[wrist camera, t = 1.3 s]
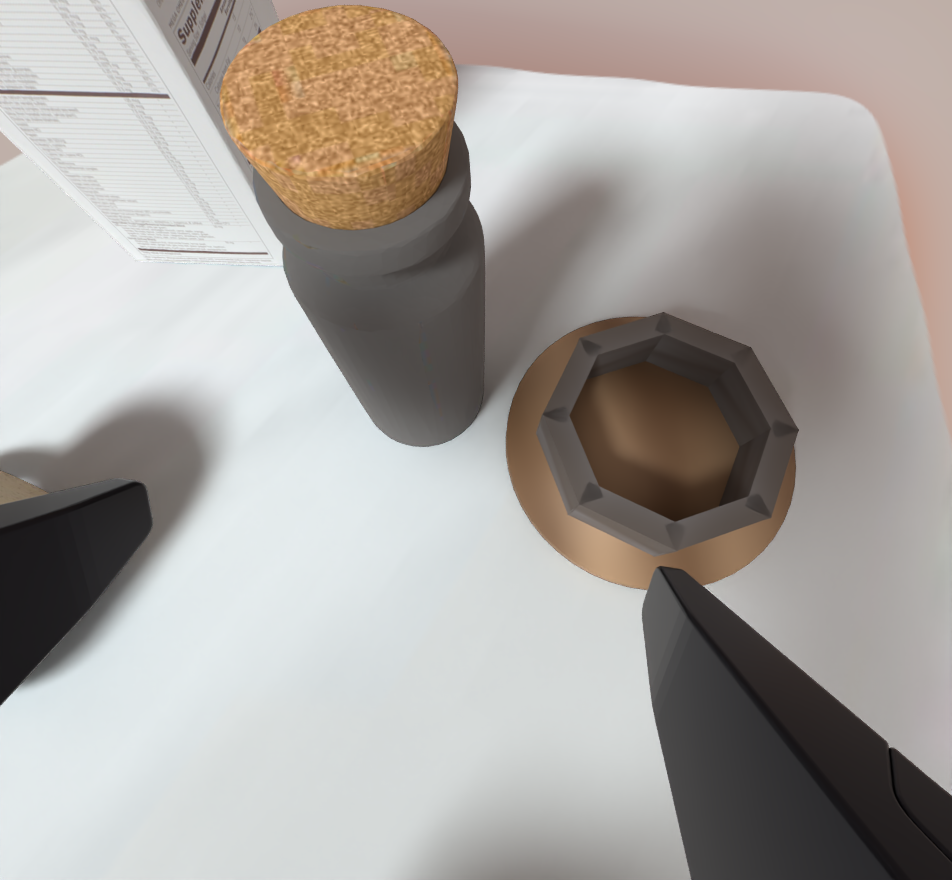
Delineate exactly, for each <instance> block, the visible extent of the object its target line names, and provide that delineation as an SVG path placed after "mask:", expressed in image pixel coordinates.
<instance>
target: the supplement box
mask: <svg viewBox="0 0 952 880" xmlns="http://www.w3.org/2000/svg"><path fill="white" fill-rule="evenodd" d="M277 22H279V19H278V16H277V13H276V11H275V8H274V5H273V3H272V0H0V131H1V132H2V133H3V134H4V135H5V136H6V137H7V138H8V139H9V140H10V141H11V142H12V143H13V144H14V145H15V146H16V147H17V148H18V149H20V151H22V152H23V153H24V154H25V155H26V156H27V157H28V158H29V159H30V160H31V161H32V162H33V163H34V164H35V165H36V166H37V167H38V168H39V169H40V170H41V171H42V172H44V173H45V174H46V175H47V176H48V177H49V178H50V179H51V180H52V181H53V182H54V183H55V184H56V185H57V186H58V187H59V188H60V189H61V190H62V191H63V192H64V193H65V194H66V195H67V196H69V197H70V198H71V199H72V200H73V201H74V202H75V203H76V204H77V205H78V206H79V207H80V208H81V209H82V210H83V211H84V212H85V213H86V214H88V215H89V216H90V217H91V218H92V219H93V220H94V221H95V222H96V223H97V224H98V225H99V226H100V227H101V228H102V229H103V230H104V231H105V232H106V233H107V234H108V235H109V236H110V237H111V238H112V239H113V240H114V241H115V242H116V243H117V244H118V245H120V246H121V247H122V248H123V249H124V250H125V251H126V252H127V253H128V254H129V255H130V256H131V257H132V258H133V259H135V260H136V261H139V262H170V263H199V264H230V265H262V266H283V259H282V251H283V245H282V243H281V242H280V241H279V240H278V239H277V238H276V236H275V234H274V233H273V231H272V230H271V228H270V226H269V225H268V223H267V222H266V220H265V218H264V216H263V214H262V211H261V209H260V207H259V205H258V203H257V201H256V197H255V192H254V188H253V165H252V164H251V163H250V162H249V161H248V159H247V158H246V157H245V156H244V155H243V153H242V152H241V151H240V150H239V149H238V147H237V146H236V144H235V143H234V142H233V140H232V139H231V137H230V135H229V134H228V132H227V130H226V128H225V126H224V123H223V120H222V116H221V112H220V90H221V86H222V81H223V78H224V76H225V74H226V71H227V69H228V67H229V65H230V64H231V62H232V61H233V60H234V58H235V57H236V55H237V54H238V52H239V51H240V50H241V49H242V48H243V47H244V46H245V45H246V44H247V43H248V42H250V41H251V40H252V39H253V38H254V37H255V36H257V35H258V34H259V33H261V32H262V31H263V30H265V29H266V28H268V27H269V26H271V25H273V24H275V23H277Z"/></svg>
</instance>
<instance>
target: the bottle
mask: <svg viewBox="0 0 952 880" xmlns="http://www.w3.org/2000/svg"><path fill="white" fill-rule="evenodd" d="M457 94H458V76H457V70H456V68H455V65H454V62H453V59H452V57H451V55H450V53H449V51H448V50H447V49H446V47H445V46H444V44H443V43H442V42H441V40H440V39H439V38H438V37H437V36H436V35H435V34H434V33H433V32H431V30H429V29H428V28H426V27H425V26H423V25H422V24H420V23H418V22H417V21H416V20H414V19H412V18H409V17H407V16H405V15H402V14H399V13H396V12H393V11H390V10H386V9H382V8H375V7H368V6H362V5H338V6H330V7H324V8H319V9H314V10H308V11H305V12H302V13H299V14H296V15H293V16H290V17H288V18H286V19H284V20H281V21H279V22H277V23H275V24H273V25H271V26H269V27H268V28H266V29H265V30H263V31H262V32H261V33H259V34H258V35H257V36H255V37H254V38H253V39H252V40H251V41H250V42H248V43H247V44H246V45H245V46H244V47H243V48H242V49H241V50H240V51H239V52H238V54H237V55H236V57H235V58H234V60H233V61H232V62H231V64H230V65H229V67H228V69H227V71H226V74H225V76H224V78H223V81H222V86H221V90H220V112H221V116H222V120H223V123H224V126H225V128H226V130H227V132H228V134H229V135H230V137H231V139H232V140H233V142H234V143H235V144H236V146H237V147H238V149H239V150H240V151H241V152H242V153H243V155H244V156H245V157H246V158H247V159H248V161H249V162H250V163H251V164H252V165H253V188H254V192H255V197H256V201H257V203H258V205H259V207H260V209H261V211H262V214H263V216H264V218H265V220H266V222H267V223H268V225H269V226H270V228H271V230H272V231H273V233H274V234H275V236H276V238H277V239H278V240H279V241H280V242H281V243H282V245H283V251H282V259H283V267H284V271H285V274H286V277H287V280H288V283H289V286H290V288H291V290H292V292H293V294H294V296H295V297H296V299H297V301H298V302H299V304H300V306H301V307H302V309H303V310H304V312H305V314H306V315H307V317H308V319H309V320H310V322H311V324H312V325H313V327H314V328H315V330H316V332H317V333H318V335H319V337H320V338H321V340H322V342H323V343H324V345H325V347H326V348H327V350H328V351H329V353H330V355H331V356H332V358H333V359H334V361H335V363H336V364H337V366H338V367H339V369H340V371H341V372H342V374H343V375H344V377H345V379H346V380H347V382H348V383H349V385H350V387H351V388H352V390H353V391H354V393H355V395H356V396H357V398H358V399H359V401H360V403H361V404H362V406H363V407H364V409H365V410H366V412H367V413H368V415H369V416H370V418H371V419H372V421H373V422H374V423H375V425H376V426H377V427H378V428H379V429H380V430H381V431H382V432H383V433H385V434H386V435H387V436H388V437H390V438H391V439H393V440H395V441H397V442H400V443H403V444H406V445H410V446H419V447H429V446H434V445H439V444H442V443H445V442H447V441H450V440H452V439H453V438H455V437H457V436H458V435H460V434H461V433H462V432H463V431H464V430H465V429H466V428H468V427H469V426H470V424H471V423H472V422H473V420H474V419H475V417H476V416H477V414H478V411H479V409H480V406H481V403H482V397H483V386H484V333H485V247H484V236H483V230H482V226H481V223H480V220H479V217H478V214H477V213H476V211H475V209H474V207H473V205H472V204H471V202H470V201H469V197H470V190H471V176H470V162H469V151H468V148H467V145H466V142H465V139H464V136H463V134H462V132H461V131H460V129H459V127H458V126H457V124H456V123H455V122H454V116H455V109H456V103H457Z"/></svg>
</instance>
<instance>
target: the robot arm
mask: <svg viewBox="0 0 952 880" xmlns="http://www.w3.org/2000/svg"><path fill="white" fill-rule="evenodd" d="M152 525H153V518H152V513H151V507H150V502H149V497H148V491H147V488H146V486H145V485H144V484H143V483H142V482H140V481H136V480H130V479H124V478H115V479H110V480H106V481H102V482H97V483H93V484H88V485H84V486H80V487H75V488H71V489H67V490H62V491H58V492H53V493H49V494H45V495H40V496H36V497H32V498H27V499H23V500H18V501H14V502H10V503H5V504H1V505H0V706H1V705H2V704H3V703H4V702H5V700H6V699H7V698H8V697H9V696H10V695H11V694H12V693H13V692H14V691H15V690H16V689H17V688H18V686H19V685H20V684H21V683H22V682H23V681H24V680H25V679H26V678H27V677H28V676H29V675H30V674H31V673H32V671H33V670H34V669H35V668H36V667H37V666H38V665H39V664H40V663H41V662H42V661H43V660H44V659H45V657H46V656H47V655H48V654H49V653H50V652H51V651H52V650H53V649H54V648H55V647H56V646H57V645H58V644H59V642H60V641H61V640H62V639H63V638H64V637H65V636H66V635H67V634H68V633H69V632H70V631H71V630H72V628H73V627H74V626H75V625H76V624H77V623H78V622H79V621H80V620H81V619H82V618H83V617H84V615H85V614H86V613H87V612H88V611H89V610H90V609H91V608H92V606H93V605H94V604H95V603H96V602H97V600H98V599H99V598H100V597H101V595H102V594H103V593H104V592H105V590H106V589H107V588H108V587H109V585H110V584H111V583H112V581H113V580H114V579H115V578H116V576H117V575H118V574H119V572H120V571H121V570H122V569H123V567H124V566H125V565H126V563H127V562H128V561H129V560H130V558H131V557H132V556H133V554H134V553H135V552H136V551H137V549H138V548H139V547H140V545H141V544H142V543H143V542H144V540H145V539H146V538H147V536H148V535H149V533H150V531H151V529H152ZM642 622H643V630H644V639H645V648H646V657H647V666H648V675H649V684H650V692H651V699H652V707H653V712H654V717H655V722H656V726H657V730H658V735H659V739H660V744H661V748H662V752H663V757H664V761H665V766H666V770H667V774H668V779H669V783H670V788H671V792H672V796H673V801H674V805H675V810H676V814H677V818H678V823H679V827H680V832H681V836H682V840H683V845H684V849H685V854H686V858H687V862H688V867H689V871H690V876H691V880H952V796H951V795H950V794H949V793H948V792H946V791H945V790H944V789H943V788H942V787H940V786H939V785H938V784H937V783H936V782H934V781H933V780H932V779H931V778H929V777H928V776H927V775H926V774H925V773H924V772H922V771H921V770H920V769H919V768H918V767H916V766H915V765H914V764H913V763H912V762H911V761H909V760H908V759H907V758H906V757H905V756H904V755H902V754H901V753H900V752H899V751H898V750H896V749H895V748H889V745H888V743H887V741H886V740H884V739H883V738H882V737H881V736H880V735H878V734H877V733H876V732H875V731H874V730H873V729H871V728H870V727H869V726H868V725H867V724H865V723H864V722H863V721H862V720H861V719H859V718H858V717H857V716H856V715H855V714H854V713H852V712H851V711H850V710H849V709H848V708H846V707H845V706H844V705H843V704H842V703H841V702H839V701H838V700H837V699H836V698H835V697H833V696H832V695H831V694H830V693H829V692H828V691H826V690H825V689H824V688H823V687H822V686H820V685H819V684H818V683H817V682H816V681H814V680H813V679H812V678H811V677H810V676H809V675H807V674H806V673H805V672H804V671H803V670H801V669H800V668H799V667H798V666H797V665H796V664H794V663H793V662H792V661H791V660H790V659H788V658H787V657H786V656H785V655H784V654H783V653H781V652H780V651H779V650H778V649H777V648H775V647H774V646H773V645H772V644H771V643H770V642H768V641H767V640H766V639H765V638H764V637H762V636H761V635H760V634H759V633H758V632H756V631H755V630H754V629H753V628H752V627H751V626H749V625H748V624H747V623H746V622H745V621H743V620H742V619H741V618H740V617H739V616H738V615H736V614H735V613H734V612H733V611H732V610H730V609H729V608H728V607H727V606H726V605H725V604H723V603H722V602H721V601H720V600H719V599H717V598H716V597H715V596H714V595H713V594H711V593H710V592H709V591H708V590H707V589H706V588H704V587H703V586H702V585H701V584H700V583H698V582H697V581H696V580H695V579H694V578H693V577H691V576H690V575H689V574H688V573H687V572H685V571H684V570H682V569H678V568H672V567H665V566H659V567H657V568H656V569H655V571H654V573H653V575H652V578H651V581H650V584H649V587H648V590H647V594H646V597H645V600H644V603H643V608H642Z"/></svg>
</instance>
